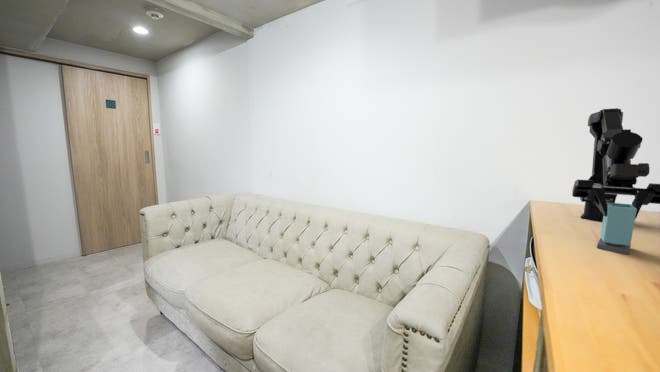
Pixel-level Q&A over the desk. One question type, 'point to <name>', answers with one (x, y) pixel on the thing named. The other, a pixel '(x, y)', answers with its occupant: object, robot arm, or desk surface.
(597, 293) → the desk surface
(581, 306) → the desk surface
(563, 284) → the desk surface
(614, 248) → the dark grey square plate
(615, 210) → the teal sleeve
